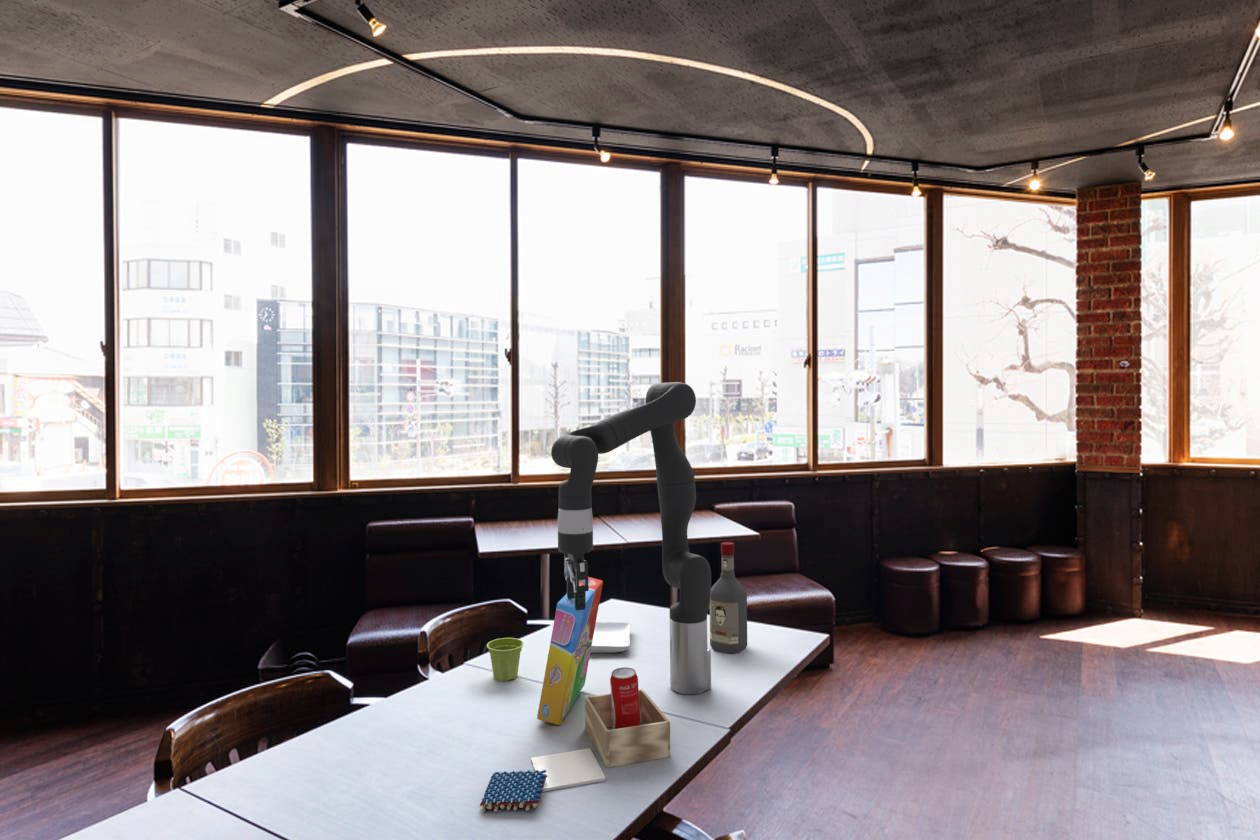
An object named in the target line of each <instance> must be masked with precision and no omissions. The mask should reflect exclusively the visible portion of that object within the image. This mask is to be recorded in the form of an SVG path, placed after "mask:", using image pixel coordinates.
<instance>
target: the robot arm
mask: <svg viewBox="0 0 1260 840" xmlns="http://www.w3.org/2000/svg"><path fill="white" fill-rule="evenodd" d="M696 405H697V398H696V393H695V391H694V389H693V388H692V387H691V386H690V385H689V384H687V383H685V382H681V381H674V382H672V381H670V382H657V383H653V384H652V385H650V386H649V388H648V389H647V391H646V395H645V404H642V405H639V406H636V407H633V408H628V409H626V410H622V411H620V412H617V413H613V414H611V415H609V416H607V417H605V418H603V419H601V420H599V421H597V422H596V423H594V424H592V425H590V426H585V427H582V428H580V429H579V428H578V429H576V430H572V431H570V432H567V433H564V434H563V435H560V437H558V438H557V439H556V440H554V442H553V444H552V447H551V449H550V451H551V453H550V454H551V455H550V456H551V459H552V460H553V462H554V463H555V464H556V465H558V466H559V467H561V468H565V469H570V472H569V475H568V479H565V480H563V481H561V482H560V483H559V487H558V512H557V550H558V551H559V552H560V553H562V554H563V555H564V556H563V558H564V560H563V568H564V569H563V571H564V572H563V575H564V578H565V581H566V594H567V598H568V599H575V609H576V610H584V609H585V608H586V591H588V589H589V587H588V577H589V563H588V561H587V560H585V557H584V555H585V554H586V553H587V554H588V553H590V552H592V551H593V550H594V521H593V520H594V519H593V518H594V517H593V511H592V509H593V508H592V504H593V503H592V502H593V501H592V487H593V483H594V480H595V476H596V471H597V468H598V463H599V455H602V454H603V455H604V454H607V453H611V452H612V451H614V450H616V449H617V448H620V447H621V446H623V445H624V444H627V443H629V442H631V441H632V440H634V439H636V438H637V437H640V436H642V435H644V434H645V433H646V434H647V433H649V432H650V435H651V436H650V437H651V441H652V447H653V455H654V456H653V457H654V463H655V464H654V465H655V471H656V472H655V473H656V485H657V495H658V500H659V501H658V503H659V509H660V510H659V512H660V513H659V514H660V524H661V535H662V536H661V537H662V547H661V549H662V551H661V554H662V555H661V556H662V557H661V558H662V562H661V564H662V566H661V567H662V574H663V578H664V580H665V581H666V583H667V584H668V585H669V586H671V587H672V588H675V589H678V590H679V601H678V602H676V603H673V604H671V606H670V607H669V661H670V662H669V663H670V664H669V671H670V675H669V676H670V677H669V678H670V679H669V682H670V683H669V684H670V689H671V690H672V691H674V692H675V693H678V694H683V695H698V694H702V693H704V692H707V691H708V690H711V689H712V664H711V663H712V662H711V661H712V656H711V655H712V653H711V650H710V649H709V648H708V611H709V610H710V597H711V588H712V570H711V566H710V563H709V561H708V560H707V559H706V558H705V557H704V556H702V555H699V554H695V553H692V552H690V547H689V540H688V527H689V523H690V520H691V518H692V515H693V512H694V509H695V506H696V502H697V492H696V490H697V489H696V480H695V473H694V470H693V467H692V465H691V463H690V461H689V459H688V458H687V456H686V454H685V453H684V451H683V450H682V448H681V446H680V444H679V442H678V439H677V435H676V431H675V422H679V421H681V420H684V419H687V418H689V417H690V416H691V415H692V413H693V412H694V411H695V408H696ZM579 582H582V583H583V585H582V586H579Z"/></svg>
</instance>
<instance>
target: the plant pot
mask: <svg viewBox="0 0 1260 840" xmlns="http://www.w3.org/2000/svg"><path fill="white" fill-rule="evenodd" d="M523 646H524V641H523V640H522V639H520V638H515V637H503V638H496V639H493V640H491V641H489V642H488V643H486V647H487V650H488V652H489V655H490V661H491V669H492V676H493V678H494V679H495V681H497V682H499V681H500V682H508V681H510V680H515V679H516V678H517V677H518V674H519V668H520V667H519V666H520V657H521V652H522V648H523Z"/></svg>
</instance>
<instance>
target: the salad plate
mask: <svg viewBox="0 0 1260 840" xmlns="http://www.w3.org/2000/svg"><path fill="white" fill-rule="evenodd" d="M631 627H632V624H631V623H630V622H621V621H620V622H612V621H611V622H610V621H609V622H608V621H601V622H599V621H596V624H595V629H594V635H593V641H592V646H591V652H590V654H604V653H605V654H606V653H607V654H609V653H611V654H612V653H613V654H614V653H621V652H624V651H627V650H628V649H629V648H630V646H631Z"/></svg>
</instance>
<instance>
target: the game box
mask: <svg viewBox="0 0 1260 840" xmlns="http://www.w3.org/2000/svg"><path fill="white" fill-rule="evenodd" d="M582 585H583V583H582V582H579V586H582ZM603 585H604V581H603V580H602V579H597V578H595V577H590V576H588V587H589V589H588V591H586V608H585V609H584V610H576V609H575V599H568V598H567V593H566V594H565V595H564V596H563V597H562V598H561V599H560V600H559V601H558V602H557V603H556V609H555V616H554V620H553V621H554V622H553V627H552V633H551V637H550V643H549V649H548V654H547V661H546V666H545V671H544V676H543V682H542V687H541V694H540V698H539V705H538V710H537V717H536V719H537V720H540V721H543V722H545V723H549V724H553V725H557V726H558V725H559V726H560V725H561V724H562V723H563V721H564V719H565V717H566V715H567V714H568V712H569V711H570V709H571V708H572V706H573V704H574V702H575V701H576V700H577V698H578V696H579V695H580V693H581V691H582V690H583V688H584V687H585V685H586V680H587V679H586V678H587V674H588V668H589V662H590V657H591V653H590V652H591V646H592V641H593V635H594V629H595V624H596V622H597V618H598V617H597V616H598V612H599V606H600V601H601V595H602V590H603Z"/></svg>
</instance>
